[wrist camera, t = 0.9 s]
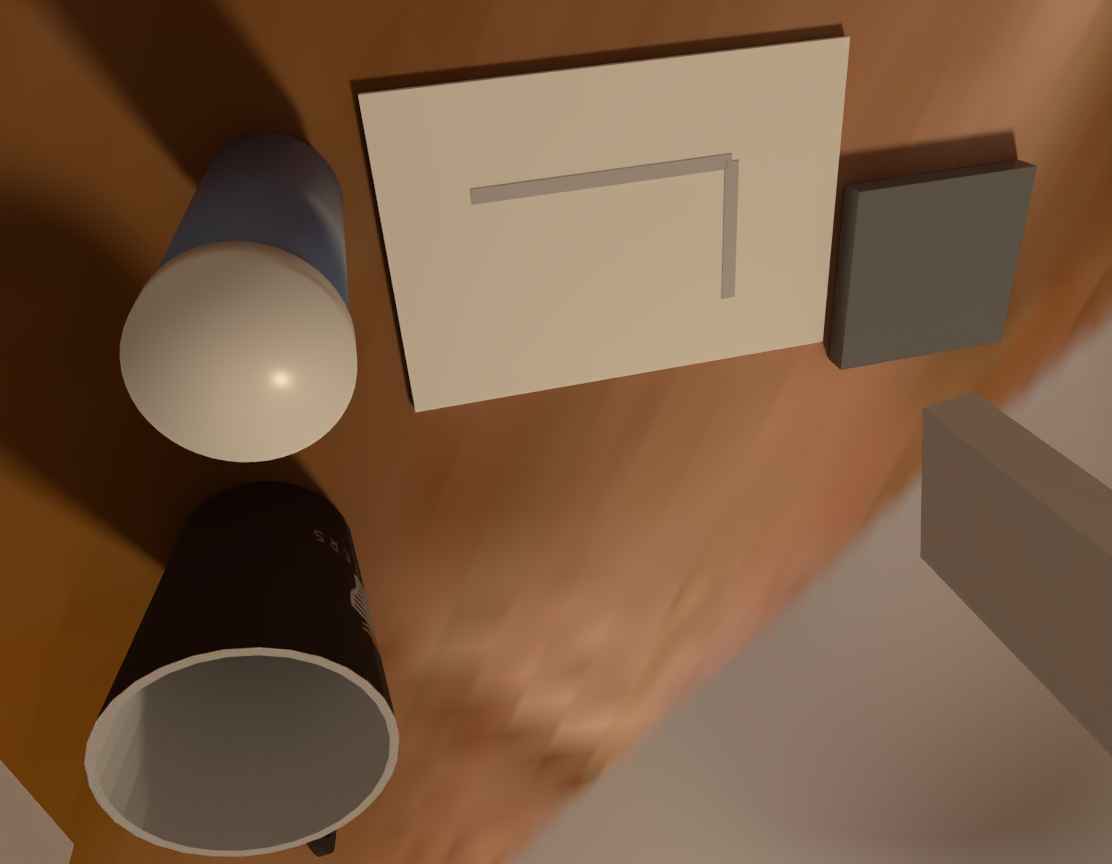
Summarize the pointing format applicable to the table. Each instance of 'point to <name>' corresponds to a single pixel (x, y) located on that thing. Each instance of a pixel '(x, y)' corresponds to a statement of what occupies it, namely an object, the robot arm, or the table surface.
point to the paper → (608, 216)
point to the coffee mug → (249, 686)
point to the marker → (248, 309)
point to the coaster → (927, 262)
